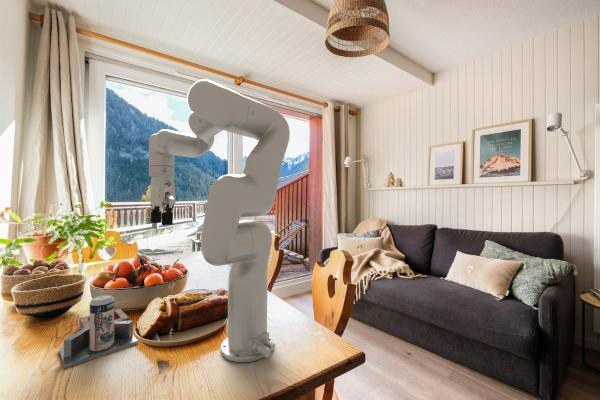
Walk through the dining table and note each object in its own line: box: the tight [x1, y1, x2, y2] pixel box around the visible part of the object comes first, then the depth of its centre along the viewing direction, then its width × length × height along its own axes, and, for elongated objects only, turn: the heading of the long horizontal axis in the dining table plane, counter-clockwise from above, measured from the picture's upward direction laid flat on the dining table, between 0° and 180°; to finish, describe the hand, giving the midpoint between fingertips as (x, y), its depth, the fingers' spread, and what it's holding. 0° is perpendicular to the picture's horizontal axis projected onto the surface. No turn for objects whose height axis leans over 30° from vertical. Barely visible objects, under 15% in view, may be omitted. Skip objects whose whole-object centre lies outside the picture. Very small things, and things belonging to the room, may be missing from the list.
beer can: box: [89, 294, 115, 351], centre depth 65 cm, size 5×5×12 cm
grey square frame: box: [78, 308, 130, 331], centre depth 75 cm, size 10×10×3 cm
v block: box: [58, 320, 139, 370], centre depth 66 cm, size 10×14×5 cm
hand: (161, 223), depth 89 cm, fingers open, 9 cm apart
